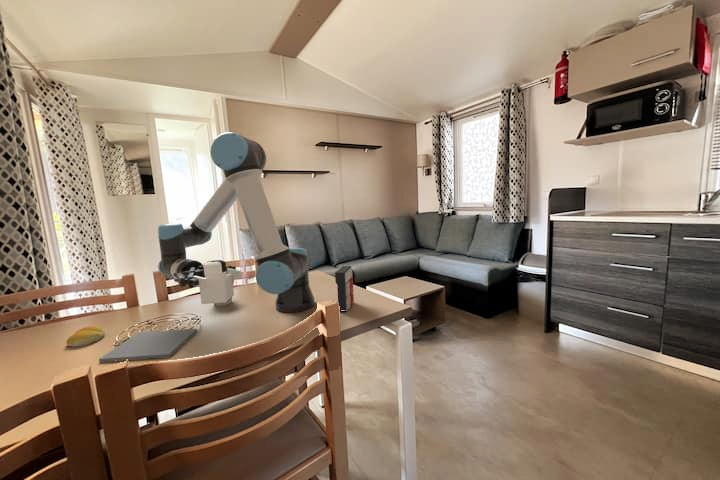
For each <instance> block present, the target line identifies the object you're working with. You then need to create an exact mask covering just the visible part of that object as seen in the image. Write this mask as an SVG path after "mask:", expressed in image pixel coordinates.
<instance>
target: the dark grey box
mask: <svg viewBox="0 0 720 480" xmlns="http://www.w3.org/2000/svg"><path fill="white" fill-rule="evenodd" d="M334 276H335V284H336V286H337V304H338V303H339V306H340V311H341V310H345V311H346V310H347V311H349V310H350V308H351V306H353V304H354V301H355V300H354V278H353V267H352V265H342V266H341V267H339V269H337V270H336V271H335V272H334ZM348 309H349V310H348Z"/></svg>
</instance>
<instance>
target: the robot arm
mask: <svg viewBox="0 0 720 480" xmlns="http://www.w3.org/2000/svg"><path fill="white" fill-rule="evenodd" d="M210 146H211V147H210V158H211V160H212V162H213V163H214V164H215V166H217V167H218V168H219V169H221V170H222V171H223V174H224V177H225V179H224V180H223V181H222V182H221V184H220V186H218V187H217V189H216V191H215V192H214V194H212V196H211V197H210V198H209V200H208V201H207V202H206V204H205V205H204V207H203V208H202V209H201V210H200V212H199V213H198V215H197V216H196V217H195V219H194V220H193V221H192V222H191V224H190V225H189V226H186V227H183V224H182V223H165V224H160V225H158V227H157V232H158V235H157V239H158V241H159V242H158V243H159V250H160V261H158V265H157V268H158V272H159V273H160V274H161V275H163V276H164V277H166V278H169V279H173V281H174V282H176V283H178V285H179V286H180V287H181V288H184V287H186V286H187V285H188V289H192V288H193V289H194V286H195V287H199V288H200V287H202V288H208V284H207V278H205V277H206V276H205V275H204V266H203V265H204V264H203V263H201V262H200V261H198V260H193V259H189V258H187V250H186V249H187V248H191V247H194V246H200V245H203V244H206V243H209V241H210V240H212V235H213V233H212V232H213V230H214V229H215V228H216V227H217V226H218V224H219V223H220V221H222V219H223V217H225V215H226V214H227V212H228V211H229V210H230V209H231V207H232V206H233V205H234V203H235V202H236V201H237V199H238V201H239V204H240V206H241V209H242V212H243V215H244V217H245V220H246V223H247V226H248V229H249V232H250V234H251V237H252V241H253V243H254V245H255V248H256V251H257V254H256V256H255V262H256V265H257V269H256V273H255V280H256V283H257V285H258V286H259V288H261V290H263V292H266V293H268V294H271V295H277V296H276V298H275V302H274V303H275V309H276V310H277V311H278V312H283V313H298V312H303V311H306V310H309V309H311V308H312V307H314V306H315V305H316V304H315V296H314V294H313V292H312V289H311V286H310V278H309V262H308V261H309V259H308V257H309V255H308V250H307V249H306V248H303V247H302V248H301V247H300V248H299V247H297V248H296V247H295V248H289V247H290V246H289V247H288V246H287V245H285V244H283V241H282V238H281V236H280V232H279V230H278V229H279V228H278V226H277V224H276V221H275V218H274V215H273V212H272V210H271V206H270V204H269V201H268V198H267V196H266V193H265V190H264V187H263V184H262V181H261V178H260V176H261V175H262V173H263V170H264V168H265V166H266V164H267V155H266V154H267V153H266V151H265V150H264V148H263V147H262V145H261V144H260V143H258V142H257V141H255V140H252V139H250V138H248V137H245V136H243V135H241V134H240V133H236V132H235V133H234V132H229V131H227V132H224V133H221V134H219V135H217V136H216V137H215V139H214V140H213V142H212V144H211V145H210ZM226 271H227V273H226V274H232V278H234V280H239V281H240V280H242V270H240V269H237V267H236V266H233V265H226Z"/></svg>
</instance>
